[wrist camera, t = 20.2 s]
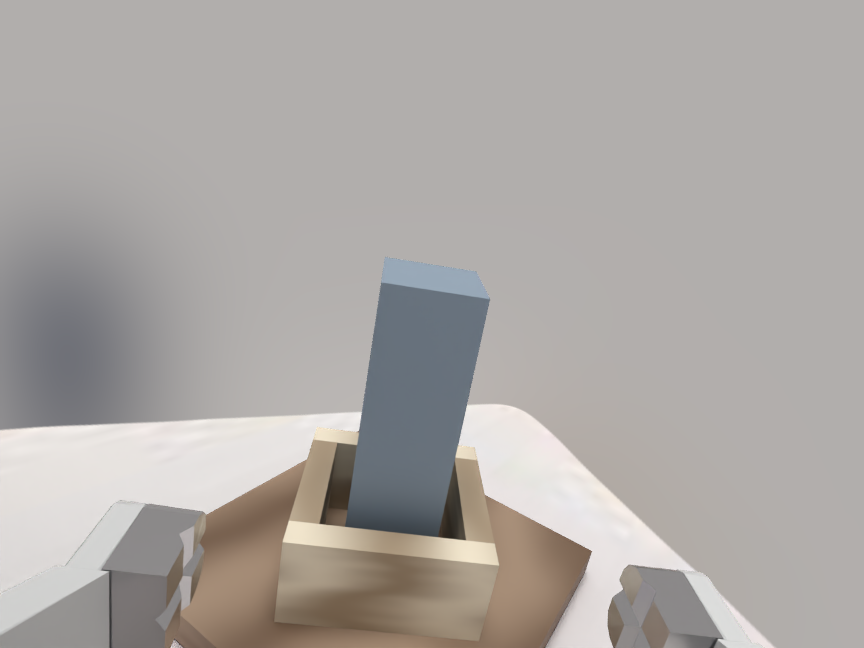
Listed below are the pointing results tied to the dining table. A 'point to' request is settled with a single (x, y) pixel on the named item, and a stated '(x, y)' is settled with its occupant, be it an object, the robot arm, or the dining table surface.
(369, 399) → the slate peg
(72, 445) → the dining table surface
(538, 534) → the socket board
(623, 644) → the robot arm
